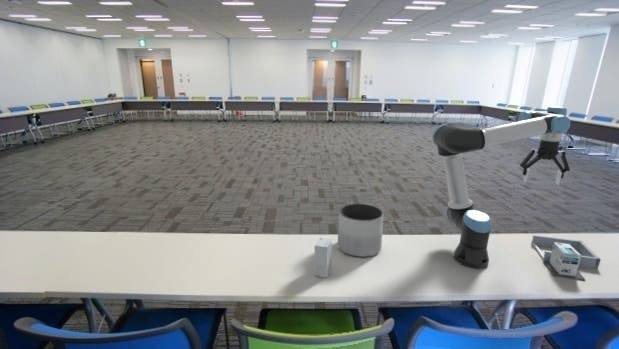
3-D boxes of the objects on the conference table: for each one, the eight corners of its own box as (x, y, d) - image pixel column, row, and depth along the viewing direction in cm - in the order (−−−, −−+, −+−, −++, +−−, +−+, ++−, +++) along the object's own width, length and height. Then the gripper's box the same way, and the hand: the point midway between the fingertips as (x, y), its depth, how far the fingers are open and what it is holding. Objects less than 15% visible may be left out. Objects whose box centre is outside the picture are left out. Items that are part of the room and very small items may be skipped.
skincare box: (326, 278, 142) (327, 247, 138) (313, 276, 144) (314, 245, 139) (331, 268, 150) (332, 238, 145) (318, 266, 151) (319, 236, 147)
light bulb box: (576, 277, 144) (582, 255, 140) (558, 274, 145) (564, 253, 142) (564, 264, 153) (570, 243, 150) (548, 262, 155) (553, 241, 152)
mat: (552, 275, 145) (553, 274, 145) (543, 261, 156) (543, 260, 156) (585, 280, 142) (585, 279, 142) (572, 266, 153) (573, 265, 153)
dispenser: (543, 261, 157) (546, 251, 156) (531, 243, 174) (533, 234, 172) (597, 268, 151) (600, 259, 149) (579, 249, 168) (581, 240, 166)
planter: (373, 236, 180) (375, 202, 174) (387, 257, 159) (390, 219, 153) (333, 238, 177) (334, 204, 171) (343, 260, 156) (344, 222, 150)
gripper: (522, 139, 155) (514, 182, 161) (585, 143, 148) (574, 187, 154) (518, 137, 162) (510, 178, 168) (578, 140, 155) (567, 183, 161)
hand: (540, 182), depth 161 cm, fingers open, 13 cm apart
